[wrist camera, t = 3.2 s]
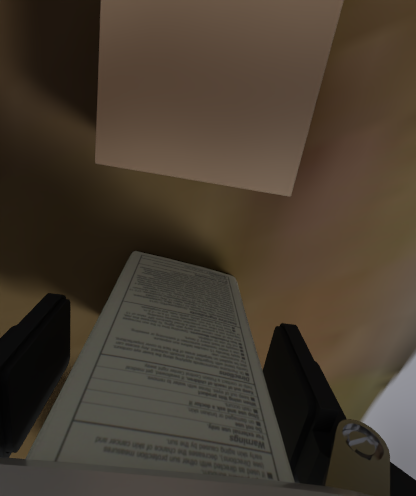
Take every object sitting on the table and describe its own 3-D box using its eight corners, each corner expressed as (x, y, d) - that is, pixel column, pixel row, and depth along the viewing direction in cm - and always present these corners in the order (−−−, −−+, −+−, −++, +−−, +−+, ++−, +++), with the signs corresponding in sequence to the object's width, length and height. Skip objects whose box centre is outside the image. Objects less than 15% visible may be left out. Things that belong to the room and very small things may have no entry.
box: (114, 323, 15) (-90, 770, 4) (133, 245, 13) (-104, 634, 3) (215, 348, 15) (245, 785, 5) (243, 276, 14) (365, 681, 4)
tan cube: (148, 2, 10) (104, -109, 6) (288, 32, 11) (356, -48, 6) (136, 151, 12) (95, 163, 7) (256, 173, 12) (290, 196, 8)
